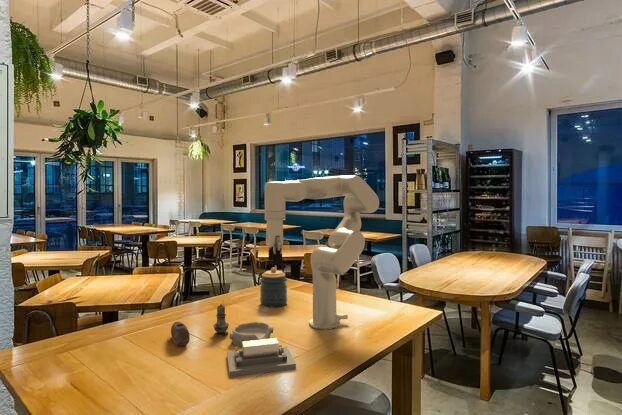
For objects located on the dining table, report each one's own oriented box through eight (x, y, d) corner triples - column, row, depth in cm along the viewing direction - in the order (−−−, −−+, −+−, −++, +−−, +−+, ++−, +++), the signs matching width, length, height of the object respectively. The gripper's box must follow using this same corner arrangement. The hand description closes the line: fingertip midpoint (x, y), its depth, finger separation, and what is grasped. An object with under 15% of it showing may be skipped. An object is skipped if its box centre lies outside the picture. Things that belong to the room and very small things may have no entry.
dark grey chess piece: (225, 337, 145) (225, 305, 144) (210, 336, 146) (210, 304, 146) (231, 332, 151) (231, 301, 150) (217, 330, 152) (217, 300, 151)
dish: (276, 336, 147) (276, 323, 146) (259, 351, 134) (259, 336, 133) (242, 332, 151) (242, 319, 151) (222, 345, 138) (222, 331, 138)
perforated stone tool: (168, 335, 147) (168, 317, 147) (182, 333, 150) (182, 315, 149) (174, 350, 134) (174, 330, 134) (190, 347, 136) (190, 327, 136)
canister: (286, 307, 182) (286, 270, 181) (258, 307, 182) (258, 270, 181) (288, 299, 195) (288, 264, 194) (262, 299, 195) (261, 264, 194)
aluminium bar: (242, 356, 125) (242, 341, 125) (276, 352, 128) (276, 337, 128) (243, 362, 121) (243, 347, 120) (278, 358, 124) (278, 343, 124)
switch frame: (286, 350, 134) (286, 338, 134) (296, 368, 120) (296, 355, 120) (227, 356, 129) (226, 344, 128) (229, 376, 115) (229, 362, 115)
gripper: (261, 214, 149) (261, 259, 150) (268, 217, 132) (268, 267, 133) (280, 214, 151) (280, 258, 152) (290, 217, 134) (290, 266, 135)
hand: (275, 262), depth 142 cm, fingers open, 9 cm apart
